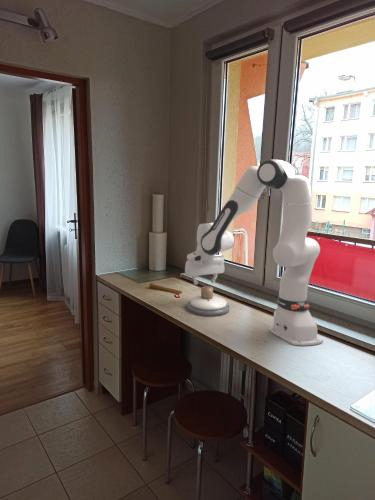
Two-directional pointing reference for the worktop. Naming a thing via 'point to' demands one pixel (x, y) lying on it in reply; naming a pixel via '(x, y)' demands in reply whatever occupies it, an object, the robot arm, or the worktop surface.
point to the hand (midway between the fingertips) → (204, 283)
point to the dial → (208, 300)
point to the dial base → (208, 311)
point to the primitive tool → (164, 289)
